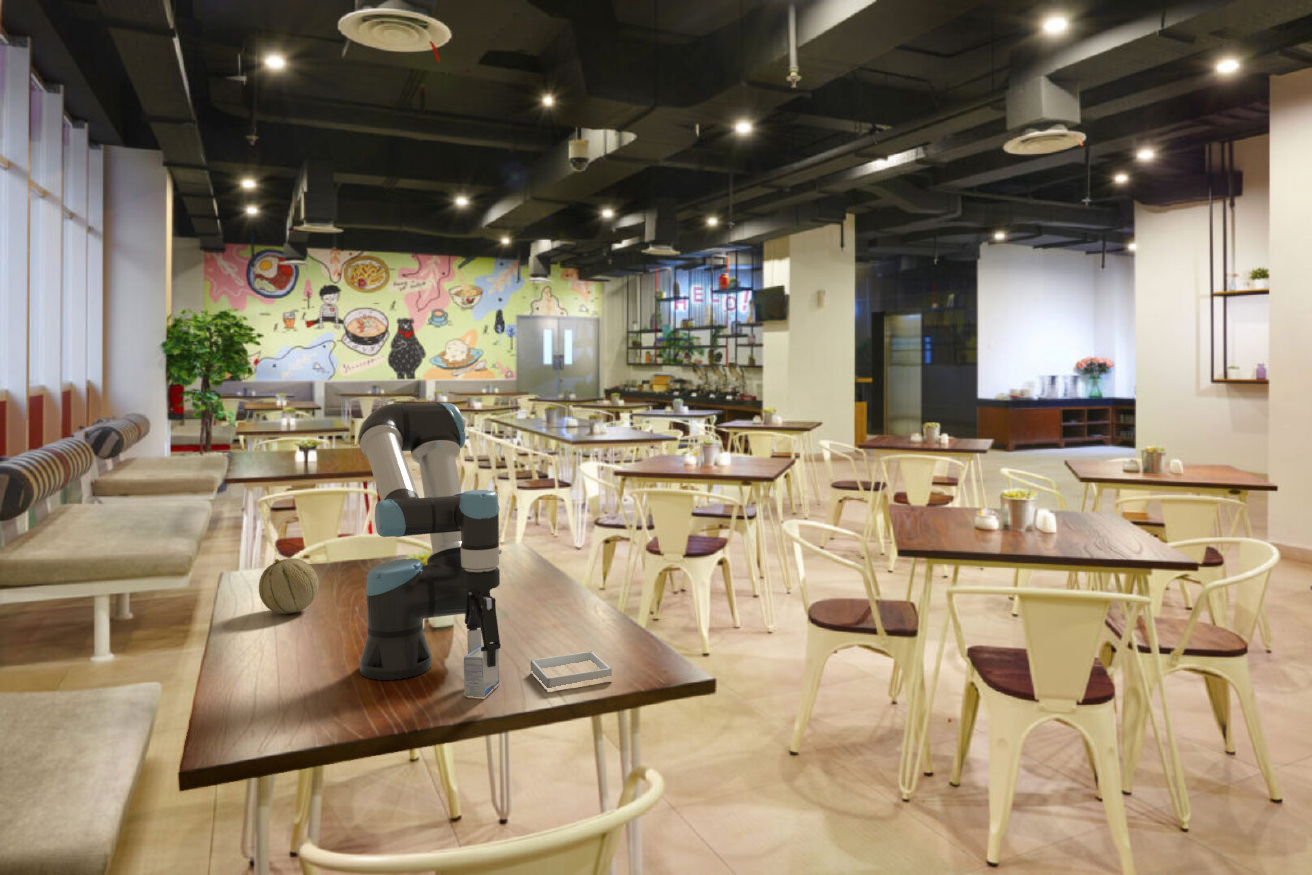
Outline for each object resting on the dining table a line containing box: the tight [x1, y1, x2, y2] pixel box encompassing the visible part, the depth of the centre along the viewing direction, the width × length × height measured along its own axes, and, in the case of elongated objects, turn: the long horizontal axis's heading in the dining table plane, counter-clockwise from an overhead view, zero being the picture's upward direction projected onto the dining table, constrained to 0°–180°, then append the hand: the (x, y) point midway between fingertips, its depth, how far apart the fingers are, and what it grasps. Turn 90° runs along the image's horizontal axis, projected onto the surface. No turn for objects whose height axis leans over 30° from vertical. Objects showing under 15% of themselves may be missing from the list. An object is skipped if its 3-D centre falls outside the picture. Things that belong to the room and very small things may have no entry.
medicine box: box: [463, 644, 500, 697], centre depth 174 cm, size 8×4×9 cm, turn 168°
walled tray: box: [530, 650, 613, 688], centre depth 182 cm, size 14×12×3 cm
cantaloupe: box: [258, 557, 319, 615], centre depth 229 cm, size 15×15×15 cm
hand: (482, 670), depth 174 cm, fingers open, 13 cm apart
